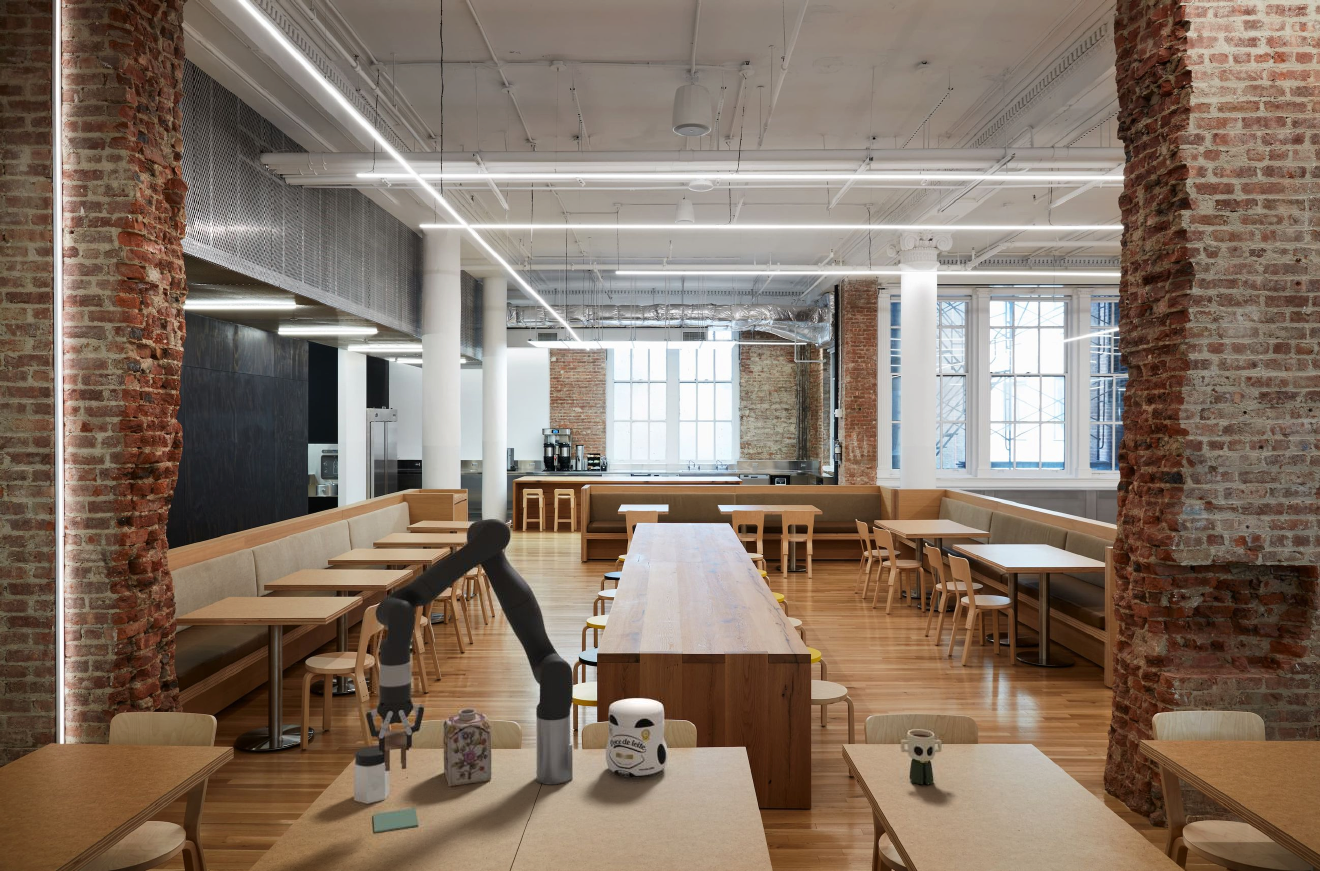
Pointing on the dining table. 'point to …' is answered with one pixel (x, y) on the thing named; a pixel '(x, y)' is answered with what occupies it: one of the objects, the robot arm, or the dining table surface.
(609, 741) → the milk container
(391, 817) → the mat
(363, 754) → the jar
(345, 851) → the dining table surface
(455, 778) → the decorative jar
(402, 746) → the pronged tan cube
